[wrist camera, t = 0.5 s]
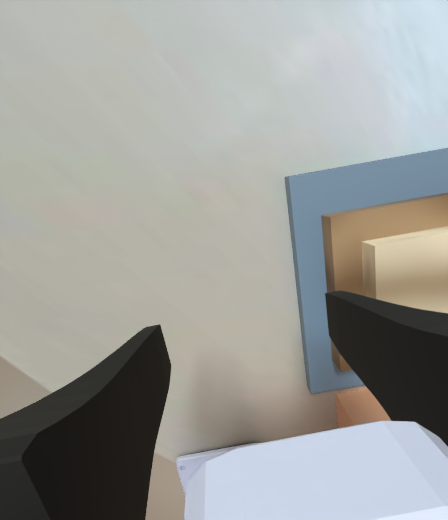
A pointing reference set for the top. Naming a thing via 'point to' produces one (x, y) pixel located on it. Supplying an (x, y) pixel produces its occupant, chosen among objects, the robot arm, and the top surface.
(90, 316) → the top surface
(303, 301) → the plinth board
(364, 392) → the terracotta block
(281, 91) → the top surface
